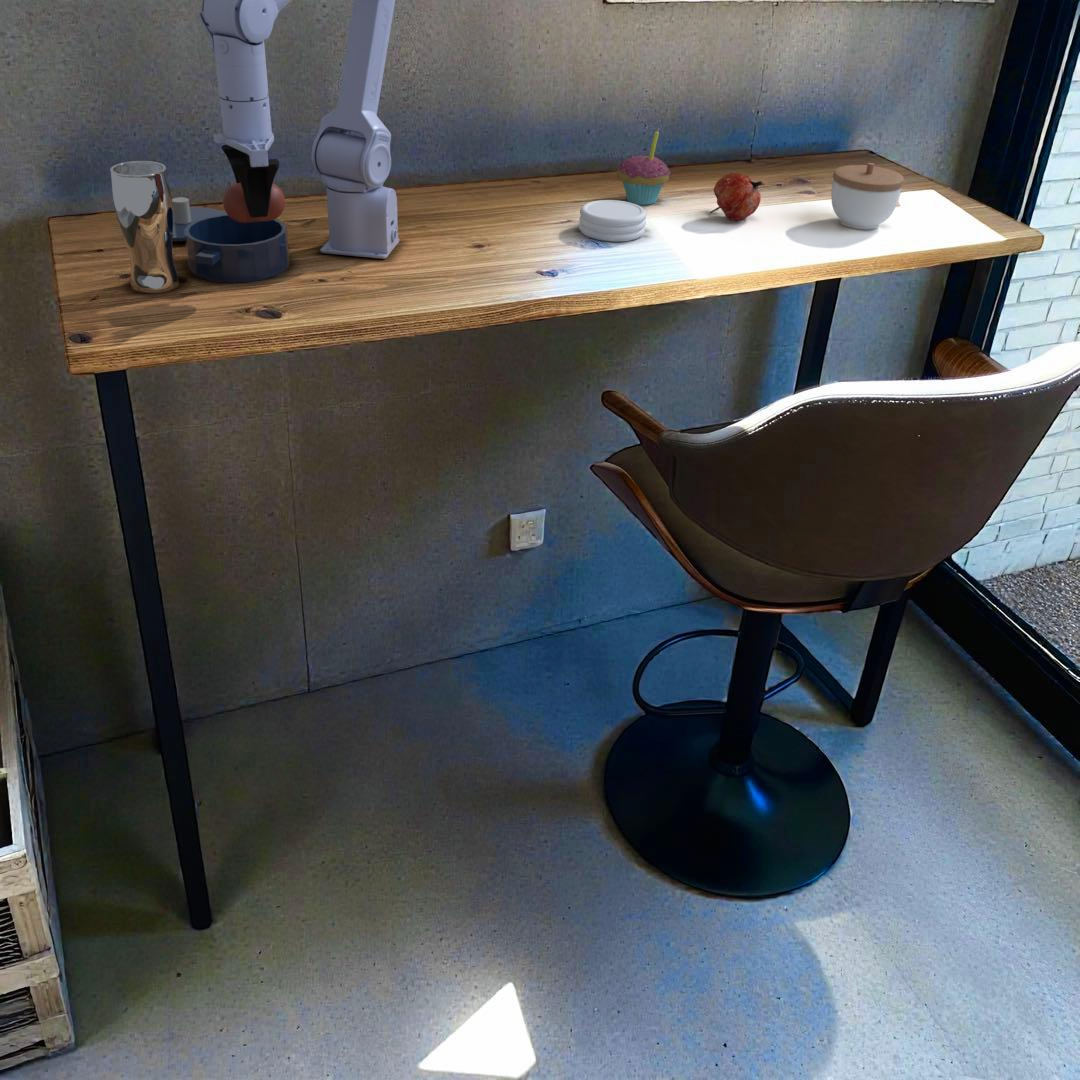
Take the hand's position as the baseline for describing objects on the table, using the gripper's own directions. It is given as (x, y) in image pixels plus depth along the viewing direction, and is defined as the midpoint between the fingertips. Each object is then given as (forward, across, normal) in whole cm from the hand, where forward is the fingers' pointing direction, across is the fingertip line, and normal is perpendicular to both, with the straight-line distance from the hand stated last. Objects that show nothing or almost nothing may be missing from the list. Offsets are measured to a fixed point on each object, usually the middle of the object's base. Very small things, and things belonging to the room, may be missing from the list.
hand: (255, 209), depth 146 cm
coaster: (+11, -9, +54) cm, 56 cm away
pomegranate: (+11, -10, +76) cm, 77 cm away
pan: (+10, -9, -1) cm, 14 cm away
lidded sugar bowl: (+11, -3, +94) cm, 95 cm away
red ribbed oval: (+1, 0, 0) cm, 1 cm away
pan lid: (+10, -26, -7) cm, 29 cm away
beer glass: (+10, -5, -13) cm, 17 cm away
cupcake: (+11, -22, +65) cm, 70 cm away
